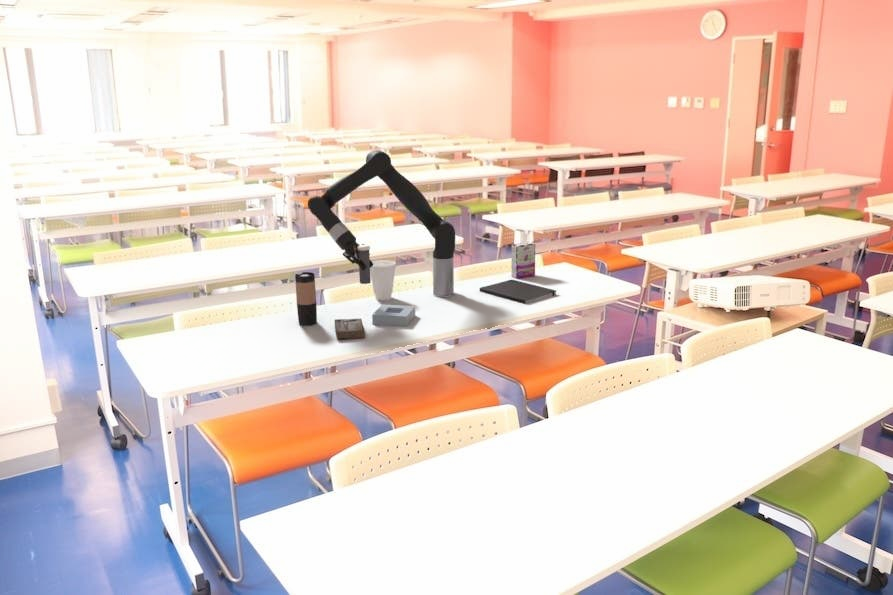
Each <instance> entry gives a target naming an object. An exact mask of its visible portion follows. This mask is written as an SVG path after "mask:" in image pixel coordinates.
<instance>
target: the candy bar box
mask: <svg viewBox="0 0 893 595" xmlns="http://www.w3.org/2000/svg"><path fill="white" fill-rule="evenodd" d="M535 275H536V243H535V242H532V241H527V242H526V241H525V242H521V243H519V242H518V243H513V244H511V277H512V278H514V279H515V280H516V279H523V278H528V277H535Z"/></svg>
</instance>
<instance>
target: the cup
mask: <svg viewBox="0 0 893 595" xmlns="http://www.w3.org/2000/svg"><path fill="white" fill-rule="evenodd" d="M372 263H373V266H372V267H370V279H371V283H372V284H371V285H372V289H373V294H374V295H375V300H377V301H389V300H391V299H392V294H393V289H394V279H395V270H396V261H393V260H386V259H385V260H384V259H383V260H374V261H372Z"/></svg>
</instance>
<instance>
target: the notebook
mask: <svg viewBox="0 0 893 595" xmlns="http://www.w3.org/2000/svg"><path fill="white" fill-rule="evenodd" d="M479 292H480V293H484V294H488V295H491V296H494V297H498V298H501V299H506V300H510V301H513V302H516V303H520V304H523V305H527V304H530V303H533V302H536V301H540V300H544V299H547V298H550V297H555V296H556V295H557V290H556V289H551V288H548V287H547V288H546V287H544V286H540V285H536V284H533V283H532V284H531V283H529V282H524V281H519V280H516V279H509V280H505V281H501V282H497V283H494V284H489V285H486V286H482V287H479Z"/></svg>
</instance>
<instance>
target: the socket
mask: <svg viewBox="0 0 893 595" xmlns="http://www.w3.org/2000/svg"><path fill="white" fill-rule="evenodd" d="M415 317H416V306H415V305H401V304H400V305H399V304H383V303H382V304H381V305H380V306H379V307H378V308H377V309H376V310H375V311H374V312H373V313H372V315H371V318H372V325H380V326H396V327H397V326H399V327H407V326H409V324H410V323H411V322H412V320H413V319H414V318H415Z"/></svg>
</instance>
